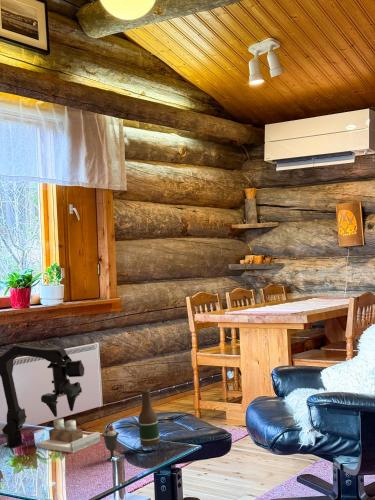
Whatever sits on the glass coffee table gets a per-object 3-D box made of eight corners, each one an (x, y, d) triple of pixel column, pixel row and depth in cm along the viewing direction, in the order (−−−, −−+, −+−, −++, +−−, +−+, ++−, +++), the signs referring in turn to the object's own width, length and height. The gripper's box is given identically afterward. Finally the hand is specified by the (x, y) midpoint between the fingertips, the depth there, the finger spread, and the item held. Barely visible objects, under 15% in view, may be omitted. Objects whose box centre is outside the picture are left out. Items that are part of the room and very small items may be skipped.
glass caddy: (49, 439, 306) (47, 421, 306) (60, 435, 311) (58, 417, 310) (72, 443, 298) (70, 424, 297) (83, 438, 302) (81, 420, 302)
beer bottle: (141, 446, 290) (135, 388, 289) (160, 444, 291) (154, 386, 290) (141, 452, 283) (135, 392, 282) (161, 450, 283) (155, 390, 282)
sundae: (118, 462, 274) (115, 423, 273) (102, 462, 275) (98, 424, 274) (123, 456, 280) (119, 418, 280) (107, 456, 281) (103, 419, 281)
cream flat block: (39, 447, 303) (38, 438, 302) (67, 436, 315) (66, 427, 315) (73, 452, 291) (72, 443, 291) (100, 441, 303) (99, 432, 303)
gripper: (56, 383, 291) (60, 421, 291) (89, 373, 306) (92, 409, 306) (38, 382, 298) (42, 419, 298) (70, 372, 313) (74, 407, 313)
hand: (63, 413), depth 304 cm, fingers open, 9 cm apart
